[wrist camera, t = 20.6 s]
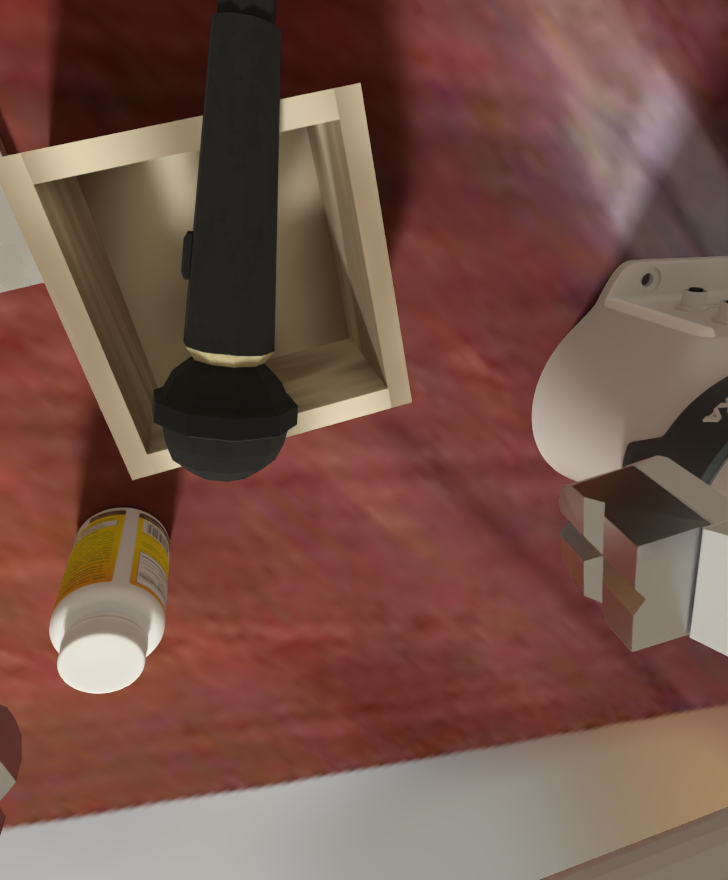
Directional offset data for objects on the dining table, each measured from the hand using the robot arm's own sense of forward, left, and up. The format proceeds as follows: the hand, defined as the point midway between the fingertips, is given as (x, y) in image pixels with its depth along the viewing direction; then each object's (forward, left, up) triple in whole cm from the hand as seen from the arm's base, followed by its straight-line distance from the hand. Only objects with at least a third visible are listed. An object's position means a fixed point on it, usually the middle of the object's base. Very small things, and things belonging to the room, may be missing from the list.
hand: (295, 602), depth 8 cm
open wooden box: (0, 0, -27) cm, 27 cm away
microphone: (-4, -13, -18) cm, 22 cm away
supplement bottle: (+11, +15, -27) cm, 33 cm away
